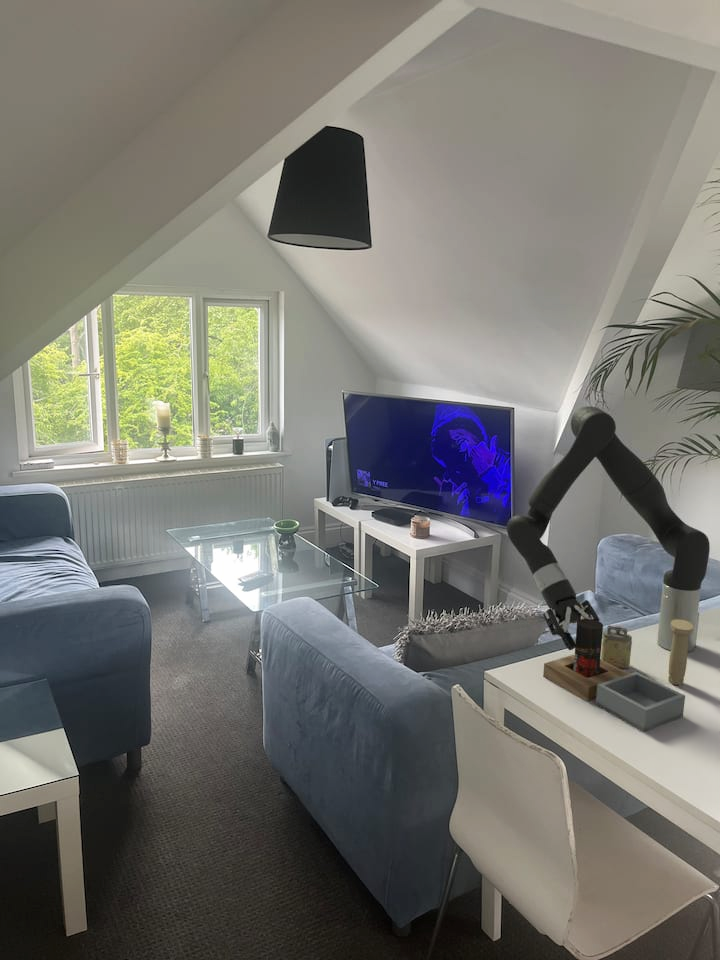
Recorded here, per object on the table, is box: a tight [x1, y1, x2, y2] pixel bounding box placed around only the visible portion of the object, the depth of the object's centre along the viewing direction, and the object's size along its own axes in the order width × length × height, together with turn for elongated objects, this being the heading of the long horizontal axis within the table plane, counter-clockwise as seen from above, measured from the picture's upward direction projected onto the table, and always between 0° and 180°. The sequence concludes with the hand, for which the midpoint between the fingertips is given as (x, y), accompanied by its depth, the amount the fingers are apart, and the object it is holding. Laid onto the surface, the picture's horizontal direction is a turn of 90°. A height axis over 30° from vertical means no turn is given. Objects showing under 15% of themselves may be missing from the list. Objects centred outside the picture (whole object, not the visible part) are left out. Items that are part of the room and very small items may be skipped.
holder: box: [542, 653, 630, 702], centre depth 173 cm, size 14×14×4 cm
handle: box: [668, 619, 693, 686], centre depth 172 cm, size 5×6×15 cm
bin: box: [595, 671, 686, 733], centre depth 160 cm, size 13×13×5 cm
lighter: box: [600, 625, 633, 669], centre depth 182 cm, size 7×4×10 cm, turn 67°
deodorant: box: [573, 618, 604, 678], centre depth 172 cm, size 6×6×15 cm
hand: (585, 645), depth 172 cm, fingers open, 8 cm apart
